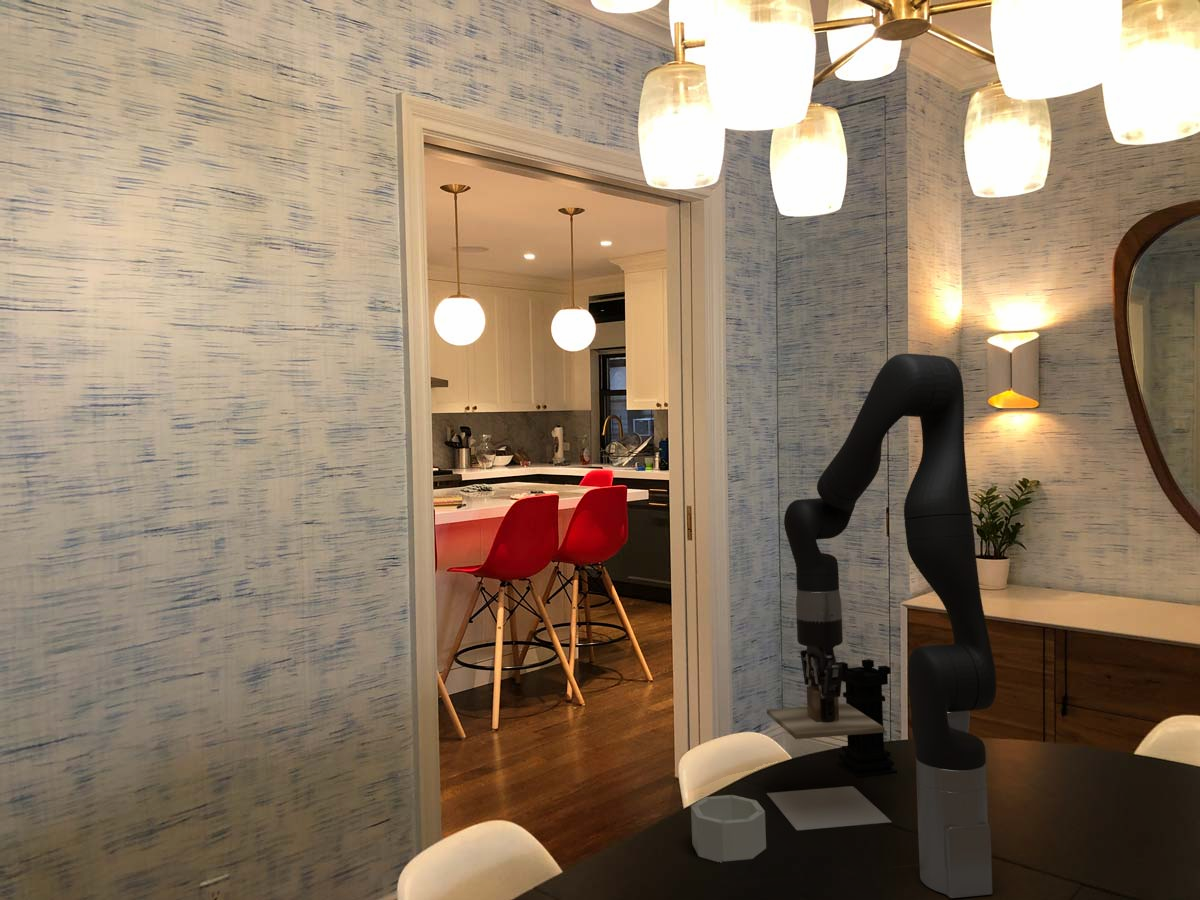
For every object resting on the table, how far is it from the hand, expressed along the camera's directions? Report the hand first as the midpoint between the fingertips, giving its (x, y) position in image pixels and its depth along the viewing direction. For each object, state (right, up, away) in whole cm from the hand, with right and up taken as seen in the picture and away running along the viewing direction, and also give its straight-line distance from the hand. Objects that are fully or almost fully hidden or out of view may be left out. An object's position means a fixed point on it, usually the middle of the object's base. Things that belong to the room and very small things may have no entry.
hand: (822, 716), depth 154 cm
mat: (+1, -16, 0) cm, 16 cm away
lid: (0, -1, 0) cm, 1 cm away
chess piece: (+13, -16, +18) cm, 27 cm away
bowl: (-18, -17, -13) cm, 28 cm away
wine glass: (+24, -15, +7) cm, 29 cm away
